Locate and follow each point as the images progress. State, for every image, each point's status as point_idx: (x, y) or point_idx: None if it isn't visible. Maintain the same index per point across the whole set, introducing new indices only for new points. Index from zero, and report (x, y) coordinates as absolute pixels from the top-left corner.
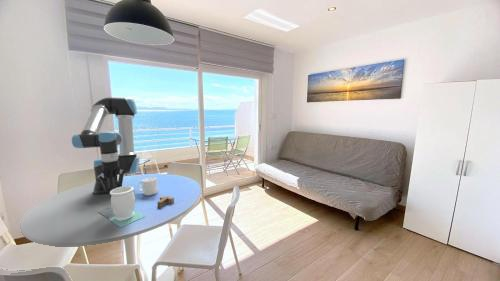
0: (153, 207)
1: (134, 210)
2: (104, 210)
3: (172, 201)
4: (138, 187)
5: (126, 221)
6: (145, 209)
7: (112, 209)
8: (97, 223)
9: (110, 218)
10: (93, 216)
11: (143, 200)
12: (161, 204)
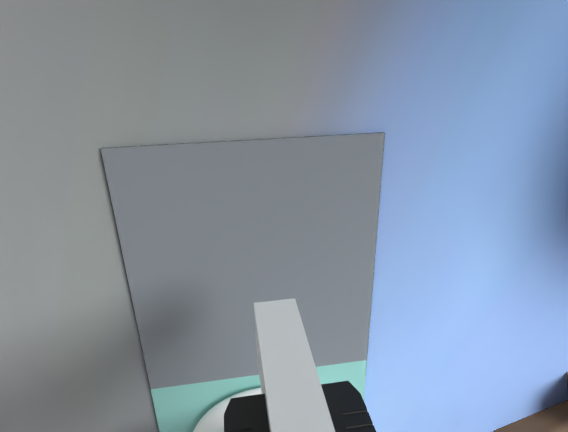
0: (473, 420)
1: (363, 384)
2: (168, 169)
3: None
4: None
5: None
6: (422, 412)
7: (243, 216)
8: (55, 393)
9: (165, 391)
10: (36, 222)
11: (542, 235)
12: None
